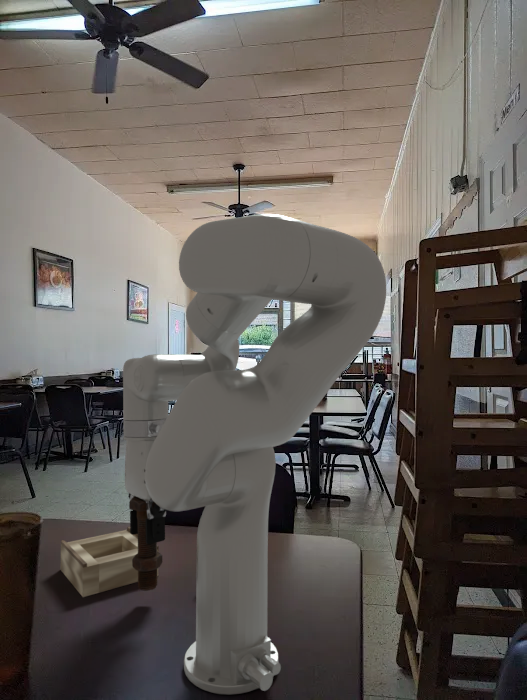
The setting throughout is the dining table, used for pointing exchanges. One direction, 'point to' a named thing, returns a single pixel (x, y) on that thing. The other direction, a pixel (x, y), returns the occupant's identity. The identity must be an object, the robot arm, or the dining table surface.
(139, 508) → the bolt
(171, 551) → the dining table surface
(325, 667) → the dining table surface
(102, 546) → the socket
